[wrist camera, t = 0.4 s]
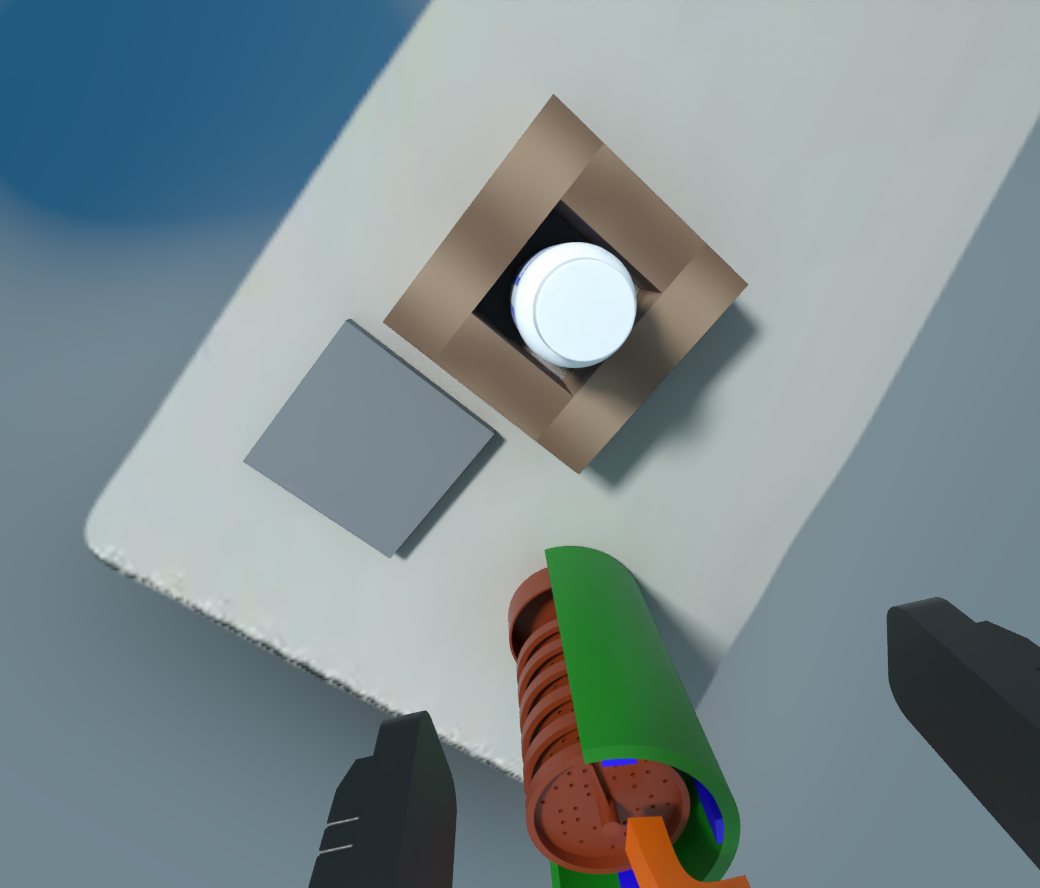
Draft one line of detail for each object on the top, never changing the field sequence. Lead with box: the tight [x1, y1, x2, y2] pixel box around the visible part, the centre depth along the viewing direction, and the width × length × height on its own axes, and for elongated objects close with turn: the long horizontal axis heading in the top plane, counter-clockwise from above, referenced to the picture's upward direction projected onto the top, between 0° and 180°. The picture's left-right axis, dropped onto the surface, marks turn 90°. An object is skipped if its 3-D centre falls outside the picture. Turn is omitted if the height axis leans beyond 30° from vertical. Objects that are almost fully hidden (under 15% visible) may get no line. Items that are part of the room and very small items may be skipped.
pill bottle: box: [509, 242, 637, 368], centre depth 27 cm, size 5×5×10 cm
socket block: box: [383, 94, 748, 474], centre depth 30 cm, size 13×13×4 cm
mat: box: [243, 319, 494, 558], centre depth 33 cm, size 10×10×1 cm
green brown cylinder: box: [508, 546, 750, 888], centre depth 29 cm, size 10×9×20 cm
